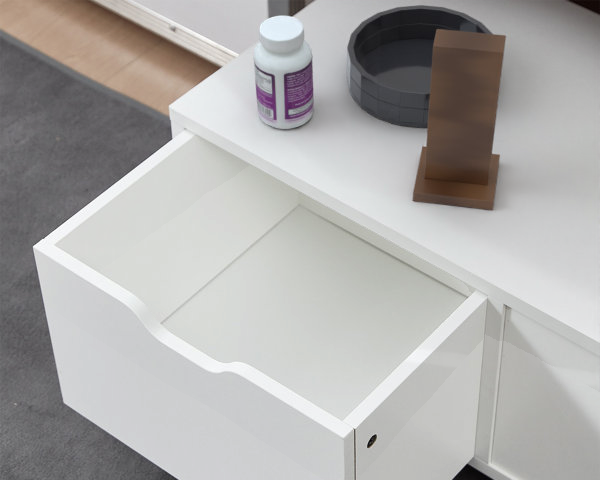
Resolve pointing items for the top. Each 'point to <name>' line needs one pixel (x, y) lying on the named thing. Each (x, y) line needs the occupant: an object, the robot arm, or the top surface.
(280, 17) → the pill bottle
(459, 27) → the pan
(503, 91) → the top surface
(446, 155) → the brown upright plaque stand
